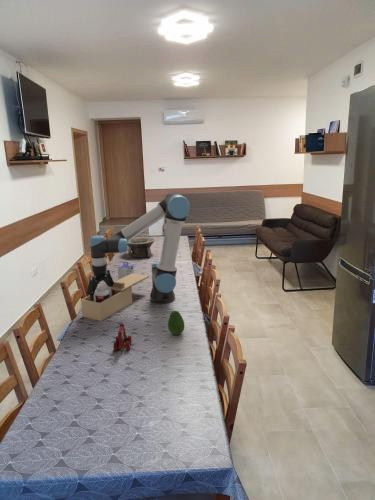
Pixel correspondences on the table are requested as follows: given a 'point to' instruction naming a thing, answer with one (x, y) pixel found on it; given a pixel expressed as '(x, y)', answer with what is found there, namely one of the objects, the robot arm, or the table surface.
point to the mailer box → (106, 305)
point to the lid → (128, 281)
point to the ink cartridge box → (124, 270)
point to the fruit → (175, 323)
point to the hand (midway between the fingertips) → (101, 301)
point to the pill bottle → (101, 293)
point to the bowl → (140, 246)
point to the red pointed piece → (122, 339)
